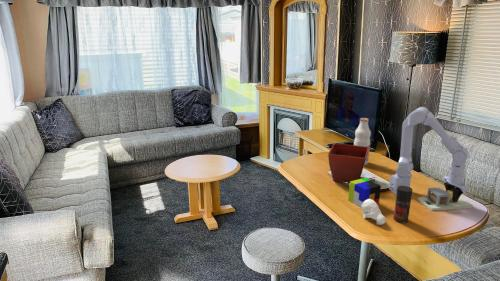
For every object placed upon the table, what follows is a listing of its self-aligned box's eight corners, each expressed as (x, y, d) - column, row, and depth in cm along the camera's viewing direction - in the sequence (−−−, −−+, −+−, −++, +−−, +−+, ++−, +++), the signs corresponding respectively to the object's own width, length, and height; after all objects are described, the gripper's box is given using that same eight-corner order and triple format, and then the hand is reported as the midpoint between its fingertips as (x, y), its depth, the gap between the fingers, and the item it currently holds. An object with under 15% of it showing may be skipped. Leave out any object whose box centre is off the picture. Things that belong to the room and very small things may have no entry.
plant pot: (325, 182, 200) (327, 153, 195) (332, 170, 217) (334, 142, 212) (362, 188, 193) (365, 158, 188) (365, 175, 210) (368, 147, 205)
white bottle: (349, 162, 229) (353, 118, 220) (357, 159, 235) (361, 116, 226) (362, 166, 222) (367, 121, 214) (370, 162, 228) (375, 118, 220)
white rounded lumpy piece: (372, 195, 165) (392, 209, 156) (368, 212, 169) (388, 226, 159) (361, 198, 163) (381, 213, 153) (358, 215, 166) (377, 230, 156)
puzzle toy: (362, 209, 172) (365, 189, 169) (348, 200, 181) (349, 181, 177) (378, 204, 176) (381, 185, 173) (363, 196, 185) (365, 177, 182)
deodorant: (391, 216, 165) (395, 185, 161) (403, 216, 166) (408, 185, 161) (397, 223, 160) (401, 191, 155) (410, 222, 160) (415, 191, 156)
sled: (435, 204, 174) (436, 195, 172) (429, 200, 178) (430, 190, 177) (458, 202, 176) (460, 193, 174) (452, 198, 180) (453, 189, 178)
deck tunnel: (431, 210, 171) (433, 197, 169) (417, 199, 181) (419, 187, 179) (472, 207, 174) (475, 194, 172) (456, 197, 184) (459, 184, 182)
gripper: (475, 178, 167) (470, 205, 171) (454, 166, 180) (449, 192, 185) (461, 179, 166) (456, 206, 170) (441, 167, 179) (436, 193, 184)
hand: (452, 199), depth 177 cm, fingers closed on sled, 4 cm apart
